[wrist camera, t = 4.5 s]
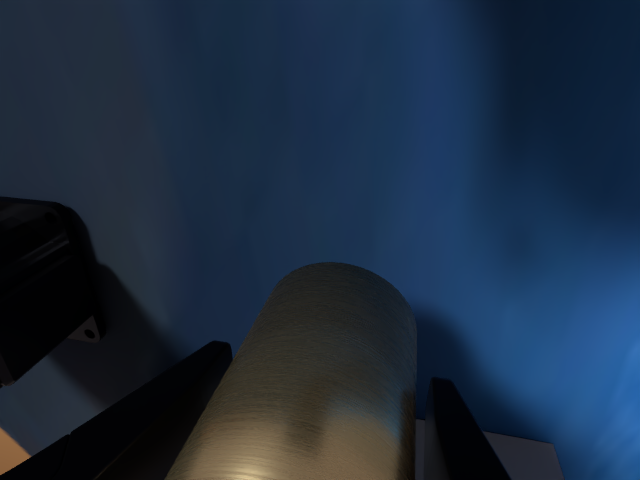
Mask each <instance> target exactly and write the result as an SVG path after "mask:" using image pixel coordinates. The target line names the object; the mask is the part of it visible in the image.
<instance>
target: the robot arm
mask: <svg viewBox="0 0 640 480" xmlns="http://www.w3.org/2000/svg"><path fill="white" fill-rule="evenodd" d="M105 335H106V328H105V325H104V322H103V318H102V315H101V312H100V309H99V306H98V302H97V299H96V296H95V293H94V290H93V286H92V283H91V280H90V277H89V274H88V270H87V267H86V264H85V261H84V257H83V254H82V251H81V248H80V245H79V241H78V238H77V235H76V232H75V229H74V225H73V222H72V219H71V216H70V214H69V212H68V210H67V209H66V208H65V207H64V206H63V205H61V204H60V203H57V202H50V201H40V200H30V199H20V198H10V197H0V388H1V387H3V386H10V385H12V384H14V383H15V382H16V381H17V380H18V379H20V378H21V377H22V376H23V375H24V374H25V373H27V372H28V371H29V370H30V369H31V368H32V367H33V366H35V365H36V364H37V363H38V362H39V361H40V360H42V359H43V358H44V357H45V356H46V355H47V354H49V353H50V352H51V351H52V350H53V349H54V348H55V347H57V346H58V345H59V344H60V343H61V342H62V341H64V340H65V339H66V338H68V339H74V340H80V341H85V342H91V343H97V342H99V341H100V340H101V339H102V338H103V337H104V336H105ZM232 361H233V358H232V350H231V346H230V344H229V343H227V342H221V341H212V342H210V343H208V344H207V345H205V346H203V347H202V348H200V349H199V350H197V351H196V352H194V353H193V354H191V355H190V356H188V357H186V358H185V359H183V360H182V361H180V362H179V363H177V364H176V365H174V366H172V367H171V368H169V369H168V370H166V371H165V372H163V373H162V374H160V375H159V376H157V377H155V378H154V379H152V380H151V381H149V382H148V383H146V384H145V385H143V386H141V387H140V388H138V389H137V390H135V391H134V392H132V393H131V394H129V395H128V396H126V397H124V398H123V399H121V400H120V401H118V402H117V403H115V404H114V405H112V406H110V407H109V408H107V409H106V410H104V411H103V412H101V413H100V414H98V415H97V416H95V417H93V418H92V419H90V420H89V421H87V422H86V423H84V424H83V425H81V426H79V427H78V428H76V429H75V430H73V431H72V432H71V433H70V435H69V434H67V435H65V436H64V437H62V438H61V439H59V440H58V441H56V442H54V443H53V444H51V445H50V446H48V447H47V448H45V449H43V450H42V451H40V452H39V453H37V454H35V455H34V456H32V457H30V458H29V459H27V460H26V461H24V462H22V463H21V464H19V465H17V466H16V467H14V468H12V469H11V470H9V471H7V472H5V473H4V474H2V475H0V480H164V479H165V478H166V476H167V474H168V472H169V471H170V469H171V467H172V465H173V464H174V462H175V460H176V458H177V457H178V455H179V453H180V451H181V450H182V448H183V446H184V444H185V443H186V441H187V439H188V438H189V436H190V434H191V432H192V431H193V429H194V427H195V425H196V424H197V422H198V420H199V418H200V417H201V415H202V413H203V411H204V410H205V408H206V406H207V404H208V403H209V401H210V399H211V397H212V396H213V394H214V392H215V390H216V389H217V387H218V385H219V383H220V382H221V380H222V378H223V376H224V375H225V373H226V371H227V369H228V368H229V366H230V364H231V362H232ZM424 480H512V479H511V477H510V475H509V474H508V472H507V470H506V469H505V467H504V466H503V464H502V462H501V461H500V459H499V457H498V456H497V454H496V452H495V451H494V449H493V447H492V446H491V444H490V442H489V441H488V439H487V438H486V436H485V434H484V433H483V431H482V429H481V428H480V426H479V424H478V423H477V421H476V419H475V418H474V416H473V414H472V413H471V411H470V410H469V408H468V406H467V405H466V403H465V401H464V400H463V398H462V396H461V395H460V393H459V391H458V390H457V388H456V386H455V385H454V383H453V382H452V381H451V380H450V379H446V378H440V377H432V378H431V381H430V386H429V391H428V397H427V402H426V412H425V442H424Z"/></svg>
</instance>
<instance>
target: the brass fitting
mask: <svg viewBox="0 0 640 480" xmlns="http://www.w3.org/2000/svg"><path fill="white" fill-rule="evenodd" d="M416 373H417V327H416V321H415V318H414V314H413V312H412V310H411V308H410V306H409V304H408V303H407V301H406V300H405V298H404V297H403V296H402V294H401V293H400V292H399V291H398V290H397V289H396V288H395V287H394V286H393V285H392V284H390V283H389V282H388V281H386V280H385V279H383V278H382V277H380V276H379V275H377V274H375V273H373V272H371V271H369V270H366V269H364V268H361V267H358V266H354V265H350V264H344V263H335V262H325V263H316V264H310V265H307V266H304V267H301V268H299V269H296V270H294V271H292V272H291V273H289V274H288V275H286V276H285V277H284V278H283V279H282V280H280V281H279V282H278V284H277V285H276V286H275V288H274V289H273V291H272V292H271V294H270V296H269V298H268V299H267V301H266V303H265V305H264V306H263V308H262V310H261V312H260V313H259V315H258V317H257V319H256V320H255V322H254V324H253V326H252V327H251V329H250V331H249V333H248V334H247V336H246V338H245V340H244V341H243V343H242V345H241V347H240V348H239V350H238V352H237V354H236V355H235V357H234V359H233V361H232V362H231V364H230V366H229V368H228V369H227V371H226V373H225V375H224V376H223V378H222V380H221V382H220V383H219V385H218V387H217V389H216V390H215V392H214V394H213V396H212V397H211V399H210V401H209V403H208V404H207V406H206V408H205V410H204V411H203V413H202V415H201V417H200V418H199V420H198V422H197V424H196V425H195V427H194V429H193V431H192V432H191V434H190V436H189V438H188V439H187V441H186V443H185V444H184V446H183V448H182V450H181V451H180V453H179V455H178V457H177V458H176V460H175V462H174V464H173V465H172V467H171V469H170V471H169V472H168V474H167V476H166V478H165V479H164V480H415V463H416Z"/></svg>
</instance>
